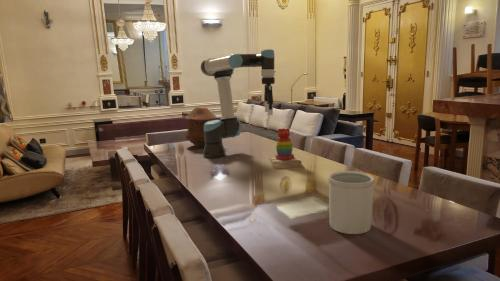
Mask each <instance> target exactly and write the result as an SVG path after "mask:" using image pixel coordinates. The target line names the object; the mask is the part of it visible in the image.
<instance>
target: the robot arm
mask: <svg viewBox="0 0 500 281" xmlns="http://www.w3.org/2000/svg"><path fill="white" fill-rule="evenodd" d="M258 67H259V68H261V71H260V72H261V85H264V92H263V93H264V99H263V101H264V112H265V113H267V116H273V115H274V110H273V109H274V107H273V104H274V96H273V86H272V85H274V84H275V80H276V79H275V73H276V72H277V71H276V70H275V50H274V49H269V48H268V49H262V50H261V51H260V53H232V54H230V55H228V56H225V57H220V58H211V57H210V58H205V59H203V60H202V61H201V63H200V70H201V72H202V74H204V75H206V76H207V77H214V80H215V81H216V83H217V90H218V91H217V92H218V97H219V105H220V106H219V107H220V112H221V117H220V118H219V119H215V120H212V121H208V122H206V123H205V124H204V137H205V147H203V152H202V155H203V156H202V157H203V158H206V159H207V158H208V159H216V158H222V157H224V156H226V152H227V151H226V150H225V147H224V144H223V139H229V138H235V137H238V136H239V135H240V134H241V132H242V130H243V127H242V122H241V121H240V119H238V117H237V116H236V115H235V111H234V102H233V95H232V89H231V79H232V75H233V74H234V70H235V69H238V68H258Z"/></svg>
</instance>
